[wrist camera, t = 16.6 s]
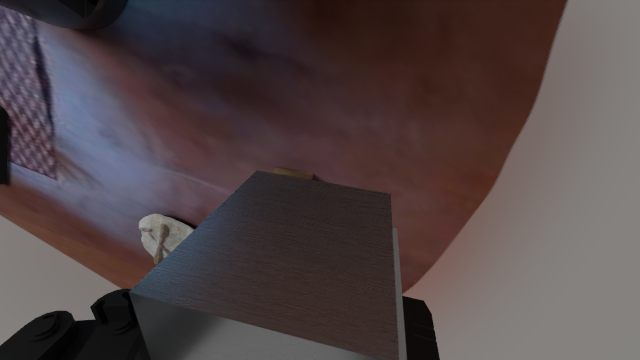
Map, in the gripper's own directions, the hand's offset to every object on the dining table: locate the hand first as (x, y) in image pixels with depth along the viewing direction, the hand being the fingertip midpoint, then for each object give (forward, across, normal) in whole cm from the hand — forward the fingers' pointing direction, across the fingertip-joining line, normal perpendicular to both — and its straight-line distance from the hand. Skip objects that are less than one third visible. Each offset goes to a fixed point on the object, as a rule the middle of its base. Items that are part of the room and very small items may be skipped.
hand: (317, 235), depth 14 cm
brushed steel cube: (-1, 0, 0) cm, 1 cm away
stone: (+17, -22, -19) cm, 34 cm away
